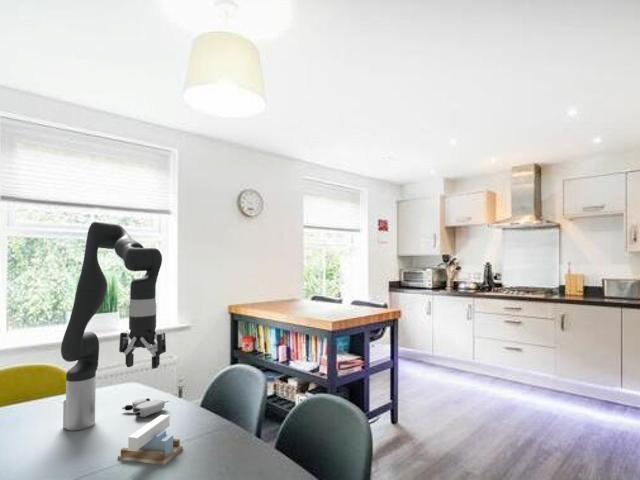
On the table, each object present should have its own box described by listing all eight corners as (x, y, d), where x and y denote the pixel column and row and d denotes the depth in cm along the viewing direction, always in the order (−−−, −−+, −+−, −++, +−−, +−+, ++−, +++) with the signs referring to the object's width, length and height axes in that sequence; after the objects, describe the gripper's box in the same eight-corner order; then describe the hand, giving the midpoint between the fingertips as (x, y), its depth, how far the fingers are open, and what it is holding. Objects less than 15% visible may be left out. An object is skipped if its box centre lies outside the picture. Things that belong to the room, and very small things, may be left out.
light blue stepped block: (125, 451, 121) (125, 432, 121) (134, 445, 125) (134, 427, 125) (165, 456, 118) (165, 437, 118) (173, 449, 122) (173, 431, 122)
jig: (117, 459, 118) (117, 449, 118) (138, 444, 127) (138, 434, 127) (164, 465, 115) (164, 454, 115) (182, 448, 124) (182, 439, 124)
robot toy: (119, 415, 152) (140, 422, 144) (119, 404, 152) (140, 409, 144) (149, 405, 162) (170, 411, 154) (148, 394, 162) (169, 399, 154)
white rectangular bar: (128, 449, 113) (128, 437, 113) (161, 425, 129) (161, 414, 129) (137, 450, 113) (137, 437, 113) (169, 425, 128) (169, 415, 128)
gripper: (171, 312, 120) (170, 365, 120) (130, 311, 123) (130, 362, 123) (156, 316, 113) (155, 372, 112) (113, 314, 116) (112, 369, 115)
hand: (142, 367), depth 118 cm, fingers open, 8 cm apart
